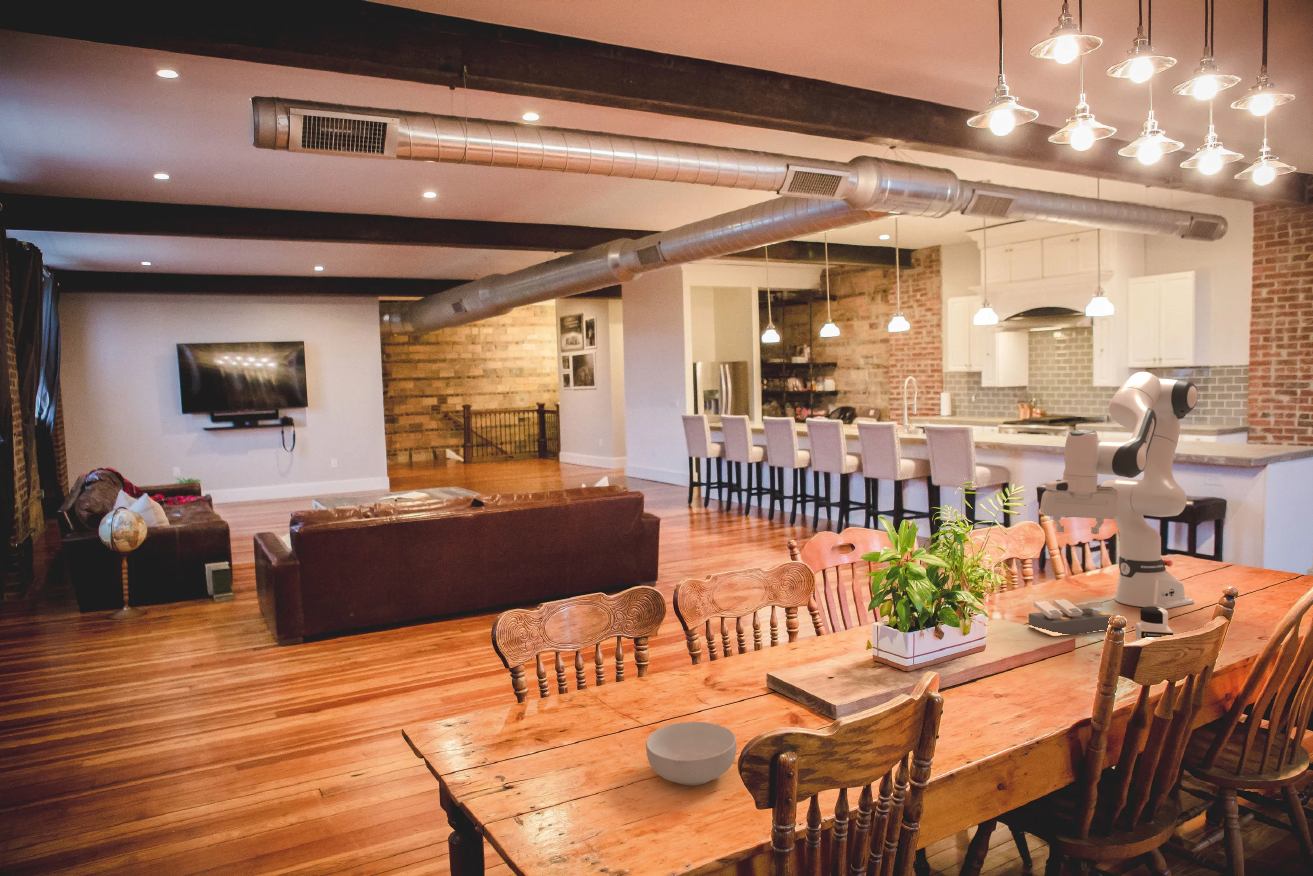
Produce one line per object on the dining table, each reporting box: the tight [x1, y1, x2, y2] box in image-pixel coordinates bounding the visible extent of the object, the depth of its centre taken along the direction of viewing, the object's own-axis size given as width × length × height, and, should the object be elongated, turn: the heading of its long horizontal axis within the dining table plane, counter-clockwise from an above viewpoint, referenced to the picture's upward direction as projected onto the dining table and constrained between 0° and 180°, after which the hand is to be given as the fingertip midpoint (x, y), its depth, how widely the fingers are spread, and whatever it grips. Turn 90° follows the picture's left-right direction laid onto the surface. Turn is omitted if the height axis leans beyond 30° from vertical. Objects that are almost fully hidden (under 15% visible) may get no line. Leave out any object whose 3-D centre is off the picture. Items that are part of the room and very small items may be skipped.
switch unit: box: [1028, 608, 1113, 635], centre depth 233 cm, size 20×10×5 cm, turn 103°
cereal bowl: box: [645, 721, 737, 787], centre depth 151 cm, size 17×17×7 cm
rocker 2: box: [1052, 598, 1083, 616], centre depth 232 cm, size 4×7×1 cm, turn 13°
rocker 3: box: [1073, 601, 1103, 609], centre depth 234 cm, size 4×7×1 cm, turn 13°
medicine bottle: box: [1135, 606, 1174, 641], centre depth 209 cm, size 7×7×12 cm
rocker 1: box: [1033, 600, 1063, 619], centre depth 231 cm, size 4×7×1 cm, turn 13°
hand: (1077, 532), depth 235 cm, fingers open, 8 cm apart
